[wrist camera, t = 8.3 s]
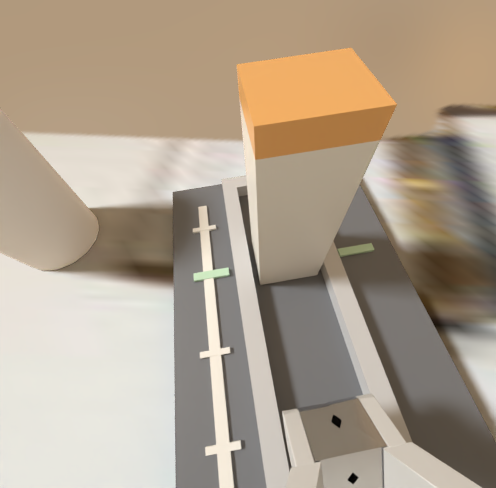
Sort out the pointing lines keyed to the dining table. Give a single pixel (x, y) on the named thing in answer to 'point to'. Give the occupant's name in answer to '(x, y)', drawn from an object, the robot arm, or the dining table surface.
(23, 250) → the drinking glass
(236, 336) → the console
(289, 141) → the fader
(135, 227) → the dining table surface
